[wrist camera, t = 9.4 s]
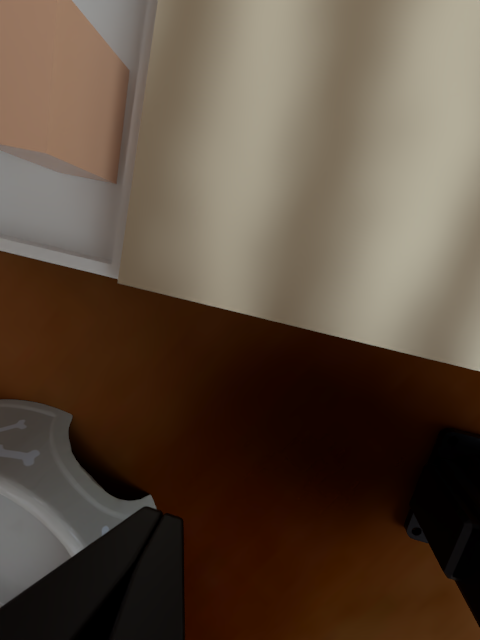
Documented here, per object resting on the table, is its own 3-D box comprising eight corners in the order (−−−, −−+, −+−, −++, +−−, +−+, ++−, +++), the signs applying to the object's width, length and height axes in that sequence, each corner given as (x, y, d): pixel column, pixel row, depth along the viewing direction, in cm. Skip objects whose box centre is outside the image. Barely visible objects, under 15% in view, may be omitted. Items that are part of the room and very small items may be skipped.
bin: (187, -32, 15) (173, -76, 13) (139, 277, 18) (121, 280, 16) (-6, -64, 16) (-47, -110, 14) (-22, 238, 18) (-57, 236, 17)
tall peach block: (58, -17, 10) (-29, -29, 11) (46, 153, 12) (-33, 138, 12) (129, 70, 15) (69, 60, 16) (116, 184, 16) (59, 172, 17)
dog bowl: (6, 341, 20) (-93, 372, 15) (220, 553, 21) (199, 653, 16) (-130, 499, 24) (-248, 569, 18) (57, 672, 25) (-5, 786, 19)
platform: (571, 30, 14) (651, -32, 11) (451, 352, 16) (487, 373, 14) (194, -31, 15) (172, -102, 12) (144, 278, 18) (117, 283, 15)
